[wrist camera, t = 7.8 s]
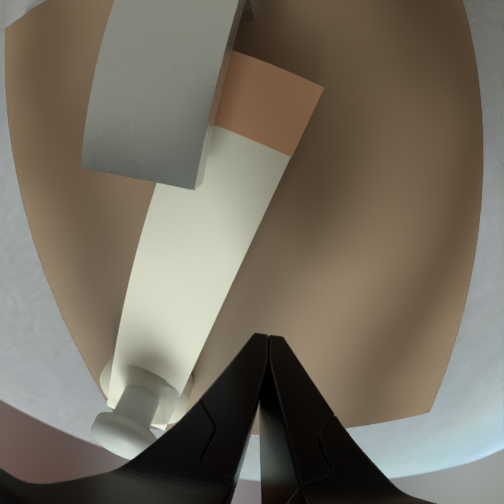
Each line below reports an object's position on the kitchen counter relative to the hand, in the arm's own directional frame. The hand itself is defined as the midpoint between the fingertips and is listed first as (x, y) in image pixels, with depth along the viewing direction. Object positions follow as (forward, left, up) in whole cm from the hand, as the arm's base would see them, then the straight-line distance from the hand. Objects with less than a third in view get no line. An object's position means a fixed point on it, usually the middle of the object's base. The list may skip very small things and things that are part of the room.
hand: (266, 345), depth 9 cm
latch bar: (-3, +1, -3) cm, 4 cm away
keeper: (-1, +9, -3) cm, 9 cm away
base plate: (-1, +2, -4) cm, 4 cm away
